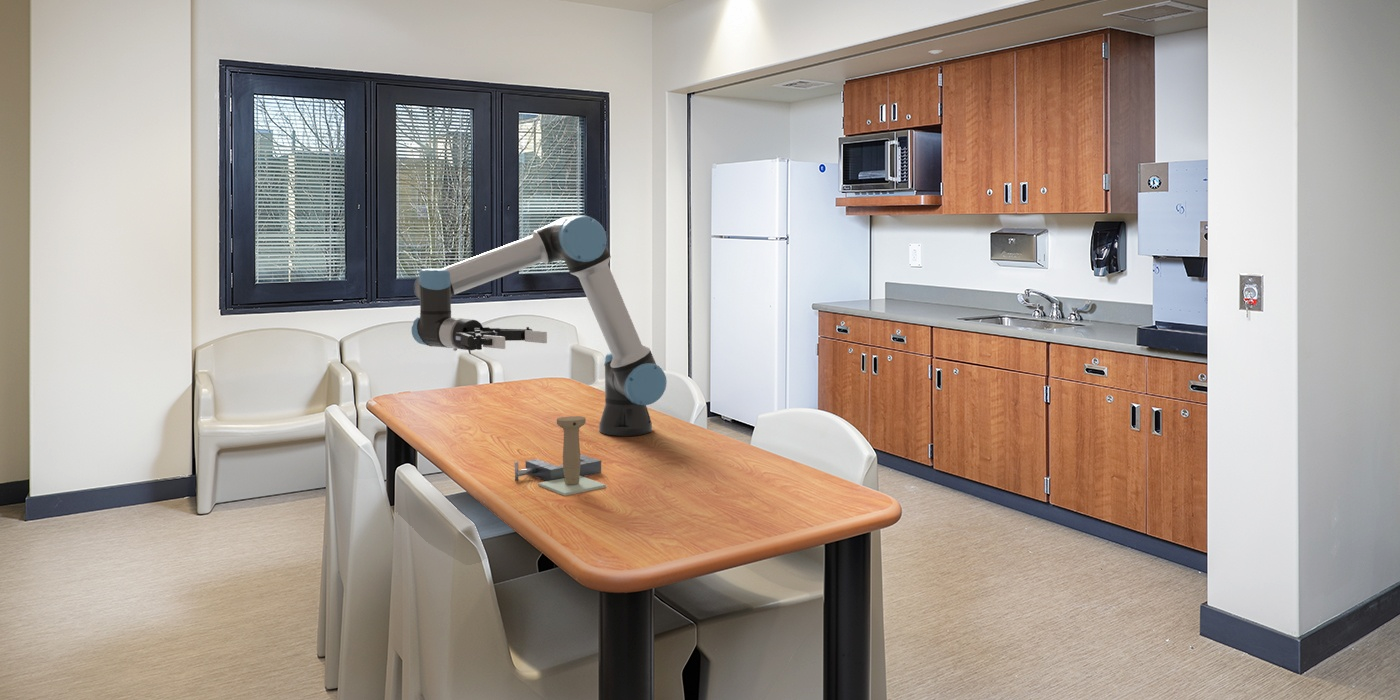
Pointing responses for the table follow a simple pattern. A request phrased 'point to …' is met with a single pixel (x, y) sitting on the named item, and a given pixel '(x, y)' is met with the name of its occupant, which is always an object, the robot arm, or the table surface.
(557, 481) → the mat
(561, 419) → the handle
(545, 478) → the vise
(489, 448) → the table surface
